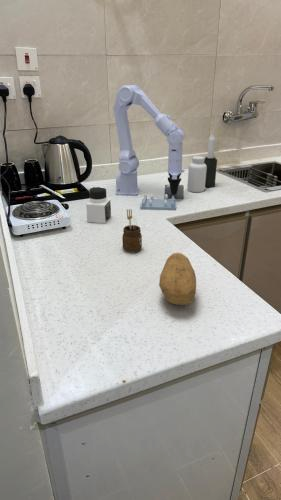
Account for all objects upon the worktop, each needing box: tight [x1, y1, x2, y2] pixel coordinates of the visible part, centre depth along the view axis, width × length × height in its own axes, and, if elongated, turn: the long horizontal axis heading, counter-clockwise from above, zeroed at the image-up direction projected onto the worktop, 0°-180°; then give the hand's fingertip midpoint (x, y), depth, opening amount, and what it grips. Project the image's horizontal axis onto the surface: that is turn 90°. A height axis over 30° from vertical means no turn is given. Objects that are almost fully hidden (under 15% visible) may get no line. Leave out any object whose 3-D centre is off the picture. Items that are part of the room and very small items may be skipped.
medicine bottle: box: [85, 186, 112, 224], centre depth 129 cm, size 7×7×12 cm
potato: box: [158, 252, 197, 306], centre depth 85 cm, size 9×16×9 cm, turn 173°
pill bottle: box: [186, 155, 207, 193], centre depth 160 cm, size 8×8×15 cm
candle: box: [204, 130, 218, 189], centre depth 163 cm, size 5×5×25 cm
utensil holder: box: [121, 208, 143, 254], centre depth 108 cm, size 6×6×12 cm
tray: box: [139, 193, 177, 211], centre depth 144 cm, size 14×10×4 cm
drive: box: [164, 184, 185, 200], centre depth 153 cm, size 8×4×5 cm, turn 86°
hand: (174, 191), depth 153 cm, fingers open, 7 cm apart
